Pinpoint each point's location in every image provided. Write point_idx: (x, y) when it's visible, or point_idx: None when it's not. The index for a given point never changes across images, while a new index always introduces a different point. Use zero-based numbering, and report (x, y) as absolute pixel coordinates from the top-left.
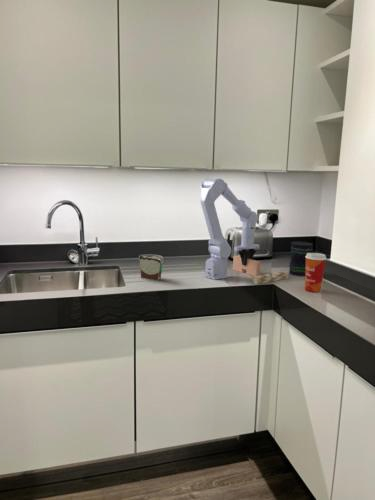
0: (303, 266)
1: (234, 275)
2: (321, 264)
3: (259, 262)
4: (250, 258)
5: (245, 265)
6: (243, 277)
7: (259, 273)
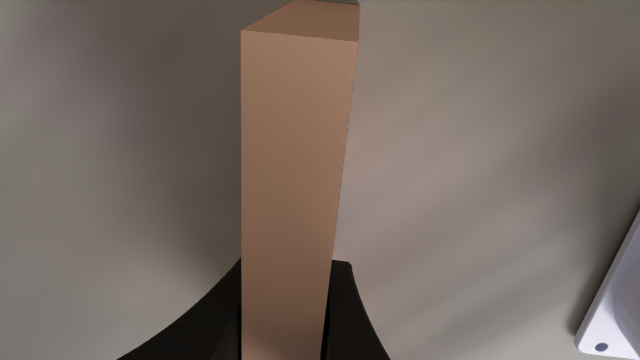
0: None
1: (518, 217)
2: None
3: (277, 29)
4: (232, 319)
5: (344, 261)
6: (524, 95)
7: (291, 3)
